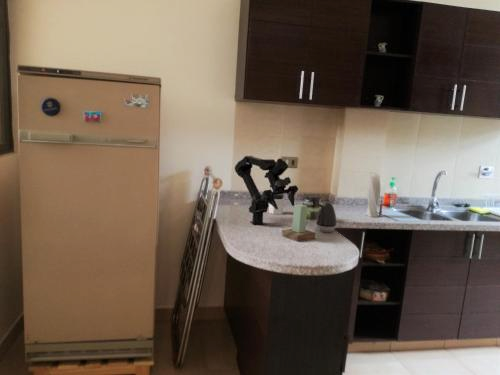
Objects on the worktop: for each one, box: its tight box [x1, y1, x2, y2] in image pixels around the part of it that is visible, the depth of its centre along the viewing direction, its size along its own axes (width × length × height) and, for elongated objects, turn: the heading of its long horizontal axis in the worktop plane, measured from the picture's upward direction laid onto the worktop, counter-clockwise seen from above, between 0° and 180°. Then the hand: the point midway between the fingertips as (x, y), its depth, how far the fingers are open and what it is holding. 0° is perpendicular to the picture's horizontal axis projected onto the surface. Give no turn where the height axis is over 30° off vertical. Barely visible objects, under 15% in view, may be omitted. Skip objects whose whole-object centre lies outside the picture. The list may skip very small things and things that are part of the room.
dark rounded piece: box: [315, 201, 337, 233], centre depth 198 cm, size 10×10×15 cm
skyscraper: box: [365, 172, 383, 219], centre depth 242 cm, size 8×8×28 cm
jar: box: [268, 194, 285, 215], centre depth 241 cm, size 9×8×12 cm
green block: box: [291, 203, 308, 233], centre depth 184 cm, size 4×4×12 cm
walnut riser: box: [281, 228, 316, 242], centre depth 185 cm, size 11×11×4 cm
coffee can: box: [302, 194, 322, 222], centre depth 226 cm, size 10×10×14 cm
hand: (285, 207), depth 189 cm, fingers open, 9 cm apart
